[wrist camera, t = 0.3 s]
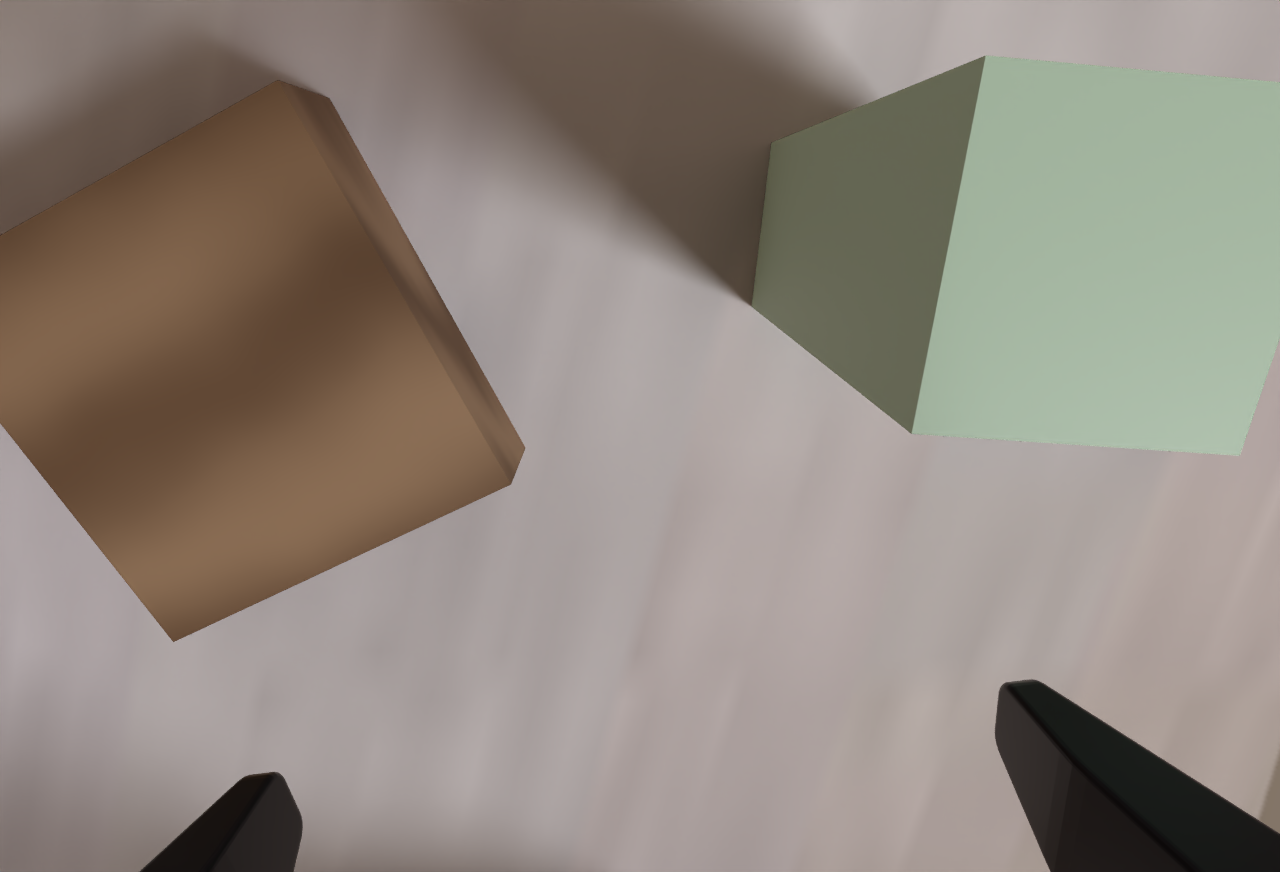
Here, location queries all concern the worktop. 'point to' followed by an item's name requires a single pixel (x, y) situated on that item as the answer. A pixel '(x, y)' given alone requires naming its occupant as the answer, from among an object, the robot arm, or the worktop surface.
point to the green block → (1038, 253)
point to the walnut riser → (240, 363)
